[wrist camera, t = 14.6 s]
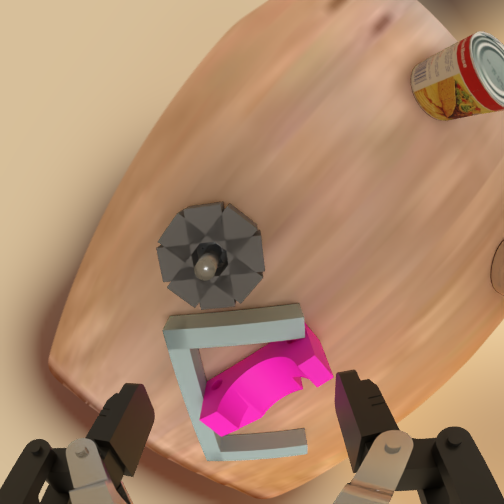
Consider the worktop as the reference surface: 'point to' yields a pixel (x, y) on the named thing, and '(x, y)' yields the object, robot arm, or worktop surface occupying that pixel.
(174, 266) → the wheel
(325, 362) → the toy block
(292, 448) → the grey u-shaped bracket
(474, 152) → the worktop surface
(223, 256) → the axle hub
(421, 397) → the worktop surface
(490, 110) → the canned food
